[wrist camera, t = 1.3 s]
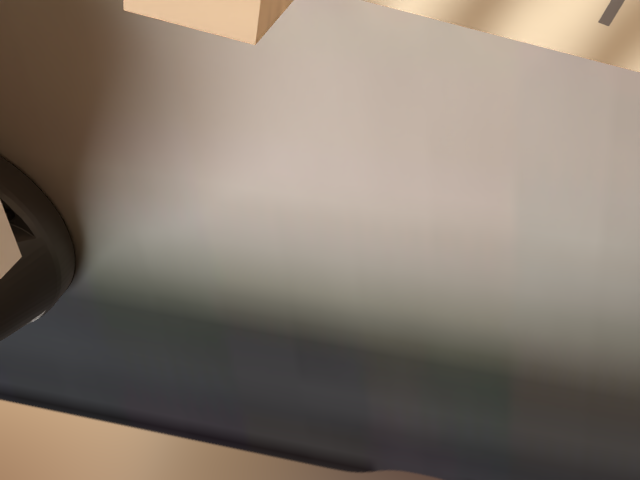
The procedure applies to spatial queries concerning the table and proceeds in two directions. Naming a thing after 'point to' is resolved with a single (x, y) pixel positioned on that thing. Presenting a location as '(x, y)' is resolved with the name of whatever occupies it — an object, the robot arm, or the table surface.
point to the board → (546, 24)
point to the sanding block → (215, 15)
